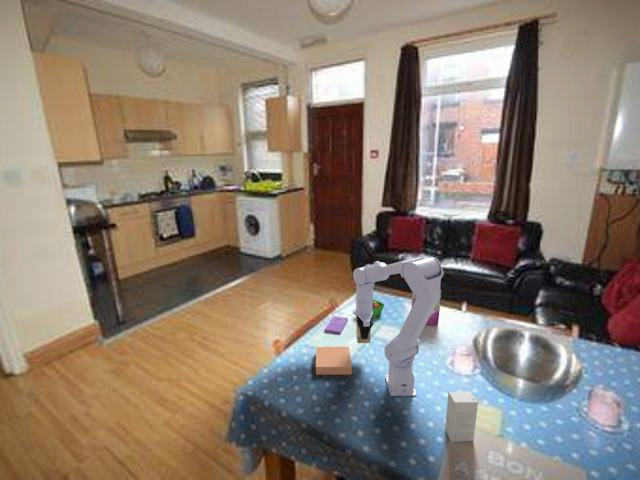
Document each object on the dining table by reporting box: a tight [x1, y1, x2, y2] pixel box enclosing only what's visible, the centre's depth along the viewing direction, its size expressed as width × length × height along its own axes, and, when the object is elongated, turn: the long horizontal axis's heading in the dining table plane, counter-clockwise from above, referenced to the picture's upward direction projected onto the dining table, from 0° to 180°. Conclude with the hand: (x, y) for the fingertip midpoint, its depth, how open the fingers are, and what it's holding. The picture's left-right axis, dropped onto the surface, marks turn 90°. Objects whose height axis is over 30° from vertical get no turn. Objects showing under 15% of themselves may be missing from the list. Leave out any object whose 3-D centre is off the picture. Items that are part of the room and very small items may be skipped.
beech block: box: [355, 323, 372, 344], centre depth 119 cm, size 4×4×6 cm
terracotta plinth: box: [315, 346, 353, 376], centre depth 117 cm, size 12×12×3 cm
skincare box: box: [444, 390, 479, 443], centre depth 86 cm, size 6×4×12 cm
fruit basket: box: [371, 298, 385, 319], centre depth 152 cm, size 11×9×11 cm
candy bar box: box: [411, 289, 442, 327], centre depth 144 cm, size 11×5×16 cm, turn 84°
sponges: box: [324, 315, 349, 335], centre depth 144 cm, size 7×13×2 cm, turn 161°
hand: (363, 334), depth 119 cm, fingers closed on beech block, 4 cm apart
